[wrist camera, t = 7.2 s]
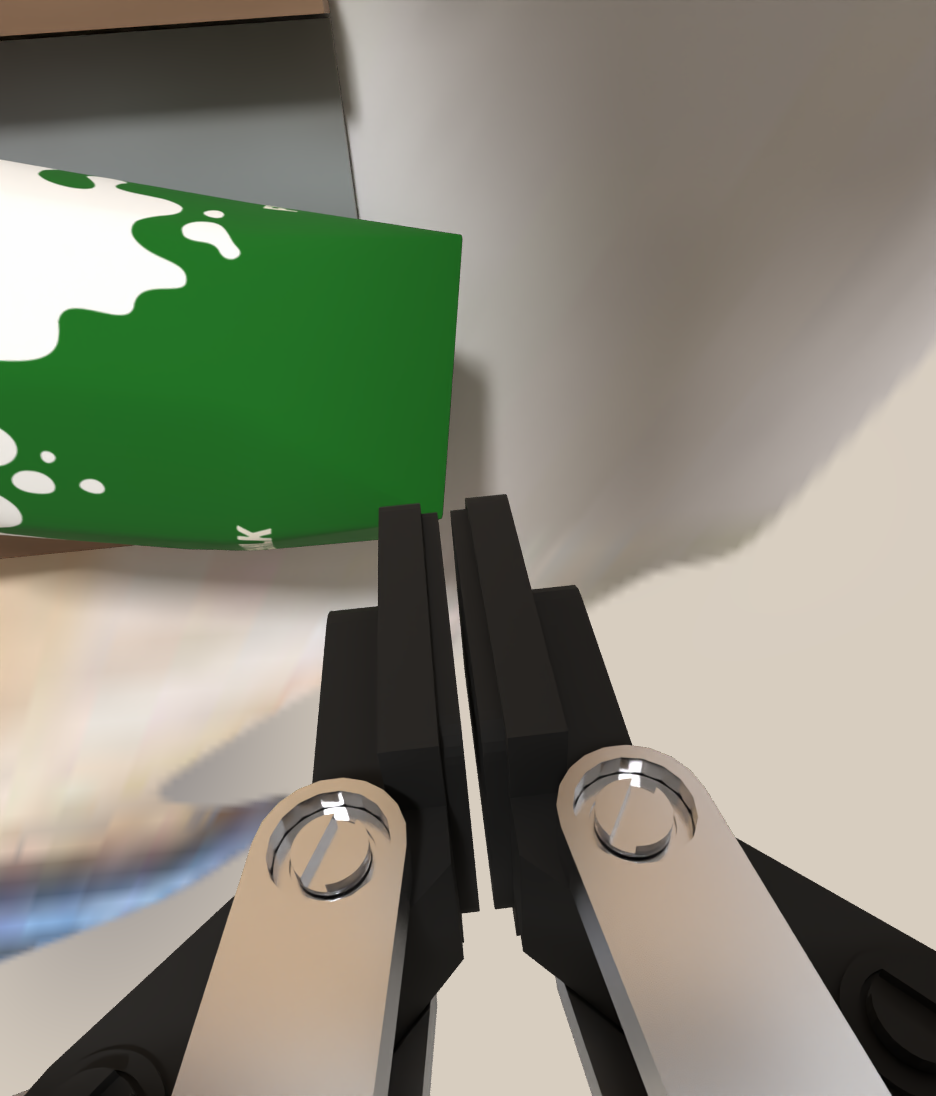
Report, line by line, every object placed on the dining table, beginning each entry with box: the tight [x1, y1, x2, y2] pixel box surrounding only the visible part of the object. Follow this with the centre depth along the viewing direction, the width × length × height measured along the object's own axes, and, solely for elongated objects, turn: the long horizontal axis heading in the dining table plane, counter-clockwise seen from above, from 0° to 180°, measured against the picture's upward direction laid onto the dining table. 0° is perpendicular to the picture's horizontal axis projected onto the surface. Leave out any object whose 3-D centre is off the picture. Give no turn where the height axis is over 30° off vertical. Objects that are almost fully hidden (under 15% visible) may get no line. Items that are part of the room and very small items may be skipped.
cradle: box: [0, 0, 358, 559], centre depth 23 cm, size 17×18×2 cm
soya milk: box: [0, 160, 462, 550], centre depth 20 cm, size 9×9×20 cm
